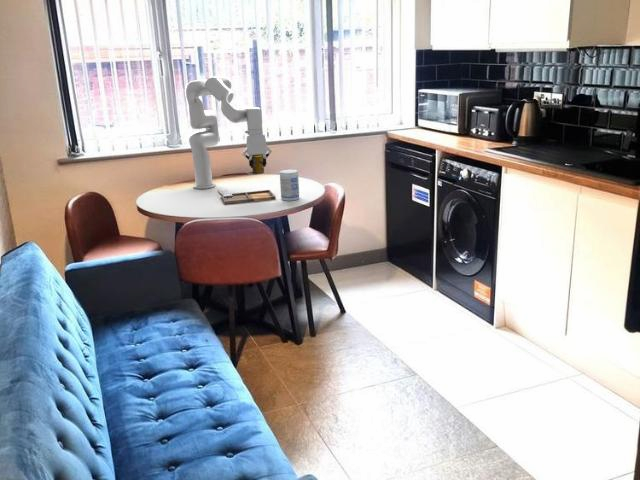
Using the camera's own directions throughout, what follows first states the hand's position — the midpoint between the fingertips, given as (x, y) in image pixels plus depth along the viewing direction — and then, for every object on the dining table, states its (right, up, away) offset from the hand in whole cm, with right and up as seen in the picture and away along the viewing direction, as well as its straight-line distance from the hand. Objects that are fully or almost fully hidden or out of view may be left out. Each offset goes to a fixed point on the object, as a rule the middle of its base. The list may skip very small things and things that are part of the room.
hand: (258, 166), depth 308 cm
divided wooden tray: (-6, -16, +4) cm, 18 cm away
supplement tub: (+17, -17, -1) cm, 24 cm away
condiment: (-1, -3, +1) cm, 4 cm away
